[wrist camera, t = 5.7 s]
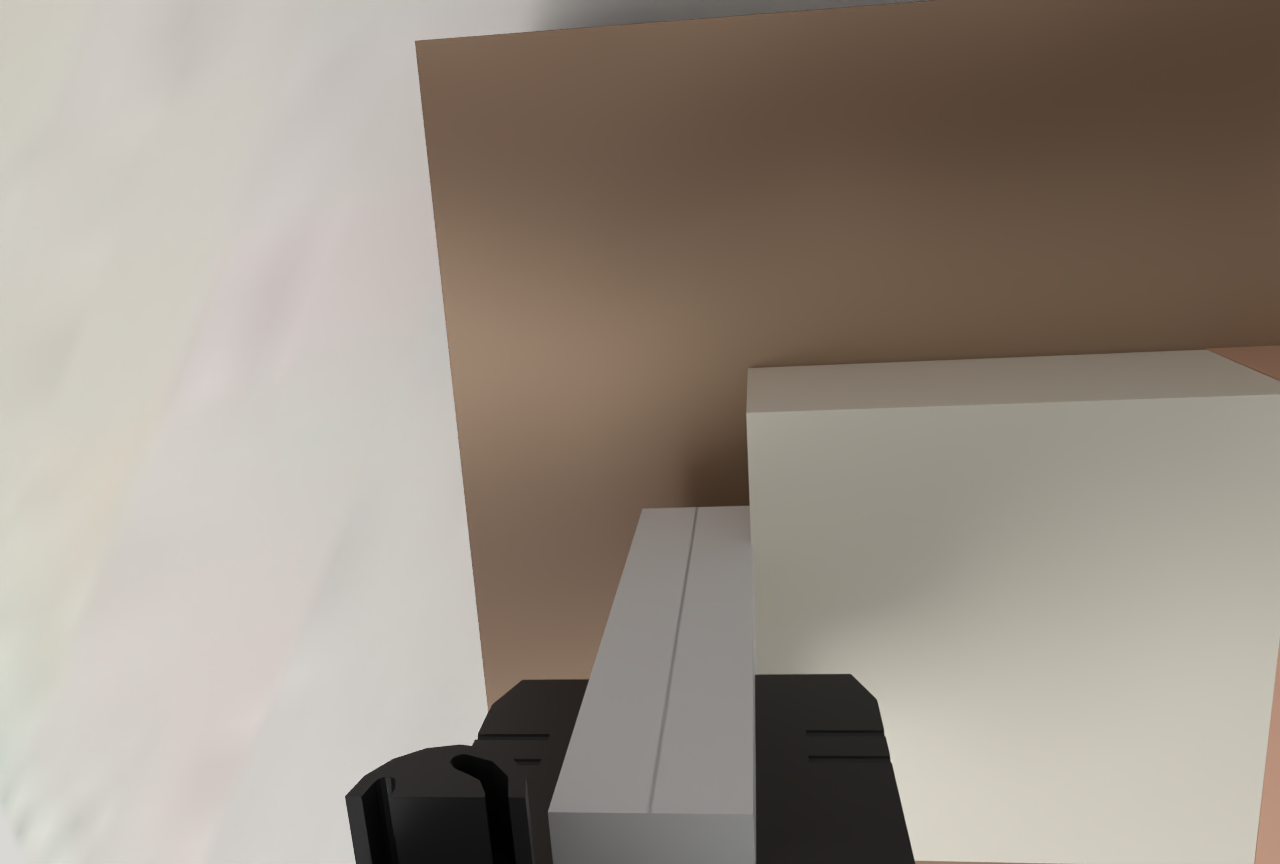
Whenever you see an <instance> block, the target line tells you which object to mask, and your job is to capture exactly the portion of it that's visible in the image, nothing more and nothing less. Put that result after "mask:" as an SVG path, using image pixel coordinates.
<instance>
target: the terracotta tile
mask: <svg viewBox="0 0 1280 864" xmlns="http://www.w3.org/2000/svg"><path fill="white" fill-rule="evenodd" d="M1206 350H1209V351H1211V352H1214V353H1216V354H1218V355H1220V356H1223V357H1225V358H1227V359H1230V360H1232V361H1234V362H1237V363H1239V364H1241V365H1244V366H1246V367H1248V368H1250V369H1253V370H1255V371H1257V372H1260V373H1262V374H1264V375H1267V376H1269V377H1271V378H1273V379H1276V380H1278V381H1280V345H1277V346H1253V347H1228V348H1206ZM1254 864H1280V640H1279V649H1278V658H1277V667H1276V676H1275V684H1274V693H1273V702H1272V711H1271V720H1270V729H1269V737H1268V746H1267V755H1266V764H1265V773H1264V781H1263V790H1262V799H1261V808H1260V817H1259V825H1258V834H1257V843H1256V852H1255V861H1254Z"/></svg>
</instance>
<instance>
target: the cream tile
mask: <svg viewBox="0 0 1280 864" xmlns="http://www.w3.org/2000/svg"><path fill="white" fill-rule="evenodd" d="M746 421H747V447H748V474H749V500H750V526H751V545H753V569H754V594H755V618H756V643H757V668H758V675H760V674H851V675H852V676H854V677H855V678H856V679H857V680H858V681H859V682H860V683H861V684H862V685H863V686H864V687H865V688H866V689H867V690H868V691H869V692H870V693H871V694H872V695H873V696H874V697H875V698H876V699H877V701H878V706H879V710H880V714H881V718H882V723H883V727H884V735H885V736H886V740H887V744H888V749H889V753H890V761H891V763H892V766H893V770H894V774H895V779H896V783H897V787H898V791H899V796H900V800H901V804H902V809H903V813H904V817H905V822H906V826H907V830H908V834H909V839H910V843H911V847H912V852H913V856H914V860H915V861H953V862H1003V863H1053V864H1254V861H1255V852H1256V843H1257V834H1258V825H1259V817H1260V808H1261V799H1262V790H1263V781H1264V773H1265V764H1266V755H1267V746H1268V737H1269V729H1270V720H1271V711H1272V702H1273V693H1274V684H1275V676H1276V667H1277V658H1278V649H1279V640H1280V381H1278V380H1276V379H1273V378H1271V377H1269V376H1267V375H1264V374H1262V373H1260V372H1257V371H1255V370H1253V369H1250V368H1248V367H1246V366H1244V365H1241V364H1239V363H1237V362H1234V361H1232V360H1230V359H1227V358H1225V357H1223V356H1220V355H1218V354H1216V353H1214V352H1211V351H1209V350H1183V351H1159V352H1134V353H1109V354H1084V355H1060V356H1035V357H1010V358H985V359H961V360H936V361H911V362H886V363H862V364H837V365H812V366H787V367H763V368H748V378H747V405H746Z"/></svg>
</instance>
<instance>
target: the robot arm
mask: <svg viewBox="0 0 1280 864" xmlns="http://www.w3.org/2000/svg"><path fill="white" fill-rule="evenodd" d="M345 799H346V805H347V811H348V817H349V823H350V829H351V835H352V842H353V848H354V854H355V860H356V864H915V860H914V856H913V852H912V847H911V843H910V839H909V834H908V830H907V826H906V822H905V817H904V813H903V809H902V804H901V800H900V796H899V791H898V787H897V783H896V779H895V774H894V770H893V766H892V763H891V761H890V753H889V749H888V744H887V740H886V736H885V735H884V727H883V723H882V718H881V714H880V710H879V706H878V701H877V699H876V698H875V697H874V696H873V695H872V694H871V693H870V692H869V691H868V690H867V689H866V688H865V687H864V686H863V685H862V684H861V683H860V682H859V681H858V680H857V679H856V678H855V677H854V676H852V675H851V674H760V675H758V668H757V643H756V618H755V594H754V569H753V545H751V526H750V506H721V507H684V508H648V509H642V512H641V515H640V519H639V522H638V525H637V528H636V531H635V535H634V538H633V541H632V544H631V547H630V551H629V554H628V557H627V560H626V563H625V567H624V570H623V573H622V576H621V579H620V583H619V586H618V589H617V592H616V595H615V599H614V602H613V605H612V608H611V611H610V615H609V618H608V621H607V624H606V627H605V631H604V634H603V637H602V640H601V643H600V647H599V650H598V653H597V656H596V659H595V663H594V666H593V669H592V672H591V675H590V679H543V680H521V681H520V682H519V683H518V684H516V685H515V686H514V687H513V688H512V689H510V690H509V691H508V692H507V693H506V694H504V695H503V696H502V697H501V698H499V699H498V700H497V701H496V702H495V703H493V704H492V706H491V708H490V710H489V712H488V714H487V716H486V718H485V720H484V722H483V724H482V727H481V729H480V731H479V733H478V740H475V741H474V743H473V745H472V746H467V745H452V746H443V747H434V748H426V749H423V750H420V751H417V752H413V753H410V754H407V755H404V756H401V757H398V758H395V759H392V760H391V761H389V762H387V763H386V764H384V765H382V766H380V767H379V768H377V769H375V770H374V771H372V772H370V773H368V774H367V775H365V776H364V777H363V778H362V779H361V780H360V781H359V782H358V783H357V784H356V785H355V787H354V788H353V789H352V790H351V791H350V792H349V793H348V794H347V795H346V796H345Z"/></svg>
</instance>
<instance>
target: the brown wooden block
mask: <svg viewBox="0 0 1280 864" xmlns="http://www.w3.org/2000/svg"><path fill="white" fill-rule="evenodd" d="M415 46H416V55H417V64H418V73H419V82H420V92H421V101H422V110H423V119H424V128H425V137H426V146H427V156H428V165H429V174H430V183H431V192H432V201H433V210H434V220H435V229H436V238H437V247H438V256H439V265H440V274H441V284H442V293H443V302H444V311H445V320H446V329H447V338H448V348H449V357H450V366H451V375H452V384H453V393H454V402H455V412H456V421H457V430H458V439H459V448H460V457H461V466H462V476H463V485H464V494H465V503H466V512H467V521H468V530H469V540H470V549H471V558H472V567H473V576H474V585H475V594H476V604H477V613H478V622H479V631H480V640H481V649H482V658H483V668H484V677H485V686H486V695H487V704H488V712H489V710H490V708H491V706H492V704H493V703H495V702H496V701H497V700H498V699H499V698H501V697H502V696H503V695H504V694H506V693H507V692H508V691H509V690H510V689H512V688H513V687H514V686H515V685H516V684H518V683H519V682H520V681H521V680H543V679H590V675H591V672H592V669H593V666H594V663H595V659H596V656H597V653H598V650H599V647H600V643H601V640H602V637H603V634H604V631H605V627H606V624H607V621H608V618H609V615H610V611H611V608H612V605H613V602H614V599H615V595H616V592H617V589H618V586H619V583H620V579H621V576H622V573H623V570H624V567H625V563H626V560H627V557H628V554H629V551H630V547H631V544H632V541H633V538H634V535H635V531H636V528H637V525H638V522H639V519H640V515H641V512H642V509H648V508H684V507H721V506H750V500H749V474H748V447H747V421H746V405H747V378H748V368H763V367H787V366H812V365H837V364H862V363H886V362H911V361H936V360H961V359H985V358H1010V357H1035V356H1060V355H1084V354H1109V353H1134V352H1159V351H1183V350H1206V348H1228V347H1253V346H1277V345H1280V0H932V1H919V2H906V3H893V4H881V5H868V6H855V7H842V8H829V9H817V10H804V11H791V12H778V13H766V14H753V15H740V16H727V17H714V18H702V19H689V20H676V21H663V22H650V23H638V24H625V25H612V26H599V27H587V28H574V29H561V30H548V31H535V32H523V33H510V34H497V35H484V36H472V37H459V38H446V39H433V40H420V41H415ZM915 864H1053V863H1003V862H953V861H915Z"/></svg>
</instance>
